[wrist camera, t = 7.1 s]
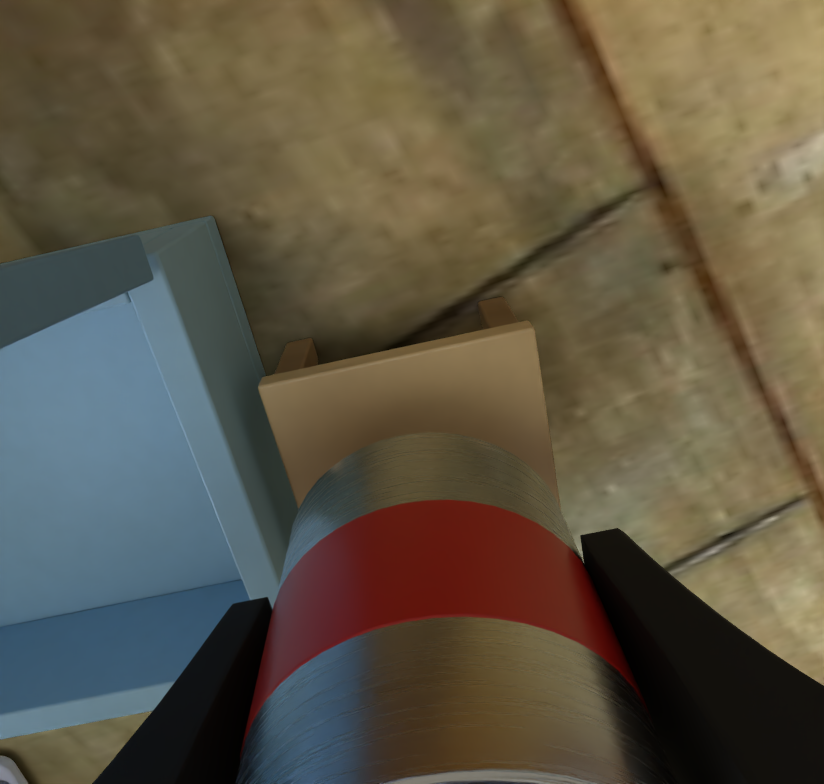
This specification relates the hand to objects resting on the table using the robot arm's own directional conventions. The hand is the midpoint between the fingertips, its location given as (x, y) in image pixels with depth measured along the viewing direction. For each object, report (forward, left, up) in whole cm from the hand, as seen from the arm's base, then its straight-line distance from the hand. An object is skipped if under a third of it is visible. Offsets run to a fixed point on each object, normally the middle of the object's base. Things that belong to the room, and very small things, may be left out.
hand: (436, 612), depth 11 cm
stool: (0, 0, -8) cm, 8 cm away
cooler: (+1, +10, -8) cm, 13 cm away
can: (0, 0, -2) cm, 2 cm away
